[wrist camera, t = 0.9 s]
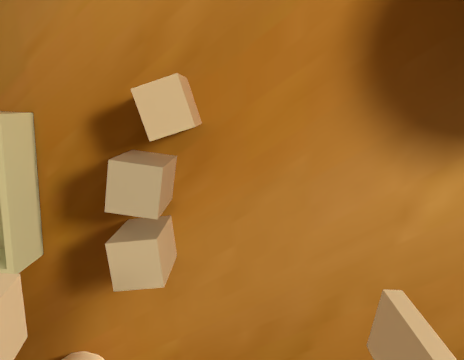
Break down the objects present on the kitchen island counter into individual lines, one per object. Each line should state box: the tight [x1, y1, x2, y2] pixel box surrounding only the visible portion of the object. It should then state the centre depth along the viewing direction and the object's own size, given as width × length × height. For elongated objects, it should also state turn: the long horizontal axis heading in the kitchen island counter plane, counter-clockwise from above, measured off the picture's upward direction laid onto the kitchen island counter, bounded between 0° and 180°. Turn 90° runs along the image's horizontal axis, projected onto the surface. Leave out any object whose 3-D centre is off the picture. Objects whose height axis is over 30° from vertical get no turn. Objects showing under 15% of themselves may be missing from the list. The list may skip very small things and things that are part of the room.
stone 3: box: [105, 215, 177, 292], centre depth 31 cm, size 4×4×6 cm
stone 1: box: [131, 73, 202, 141], centre depth 29 cm, size 4×4×5 cm
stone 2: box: [105, 150, 177, 220], centre depth 30 cm, size 4×4×6 cm
